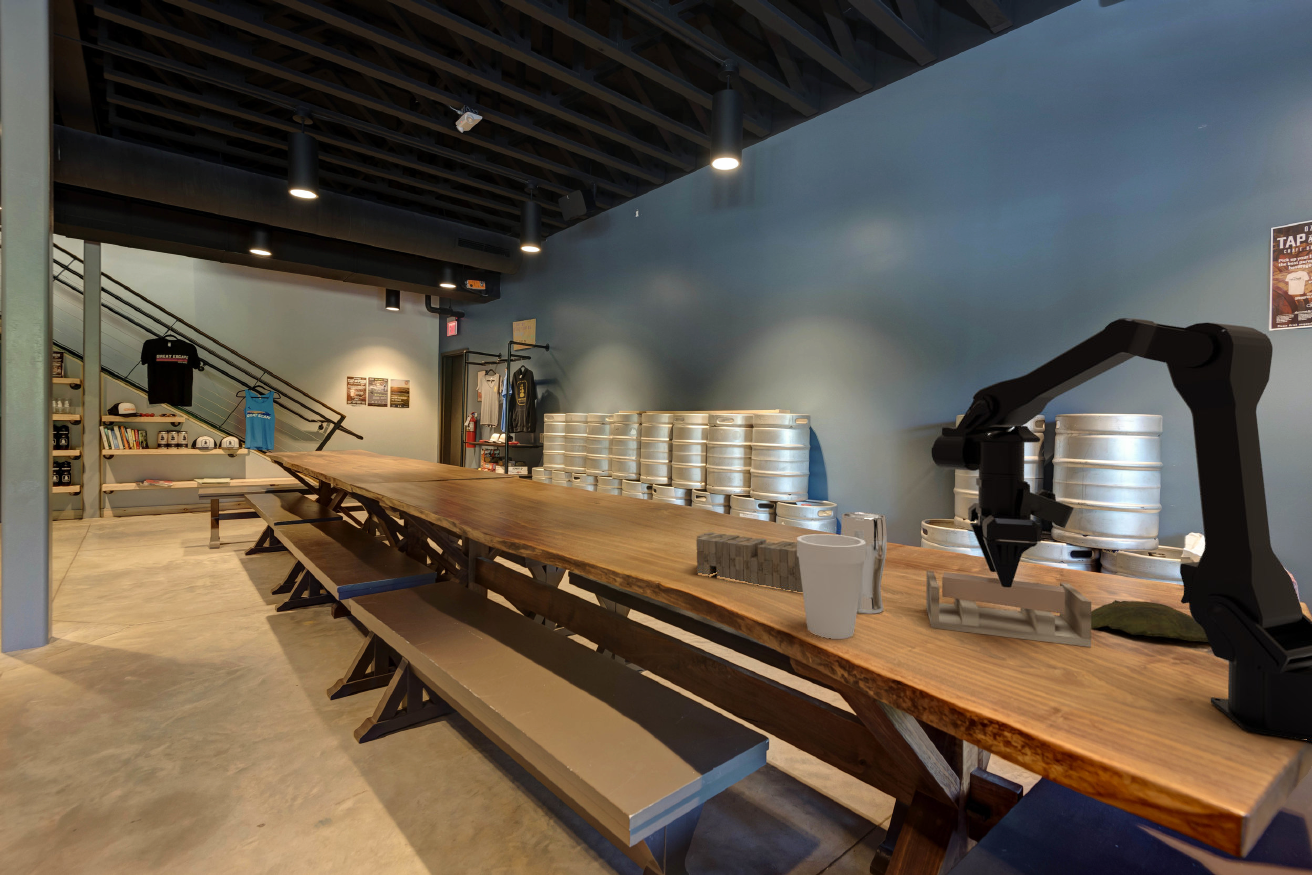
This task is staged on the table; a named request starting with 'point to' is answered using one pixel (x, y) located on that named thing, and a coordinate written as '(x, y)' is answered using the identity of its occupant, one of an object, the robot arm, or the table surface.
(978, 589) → the clay strip
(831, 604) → the foam cup
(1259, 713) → the robot arm
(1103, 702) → the table surface
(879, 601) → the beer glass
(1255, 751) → the table surface
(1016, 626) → the drying rack
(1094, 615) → the pottery fragment
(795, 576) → the block tower
